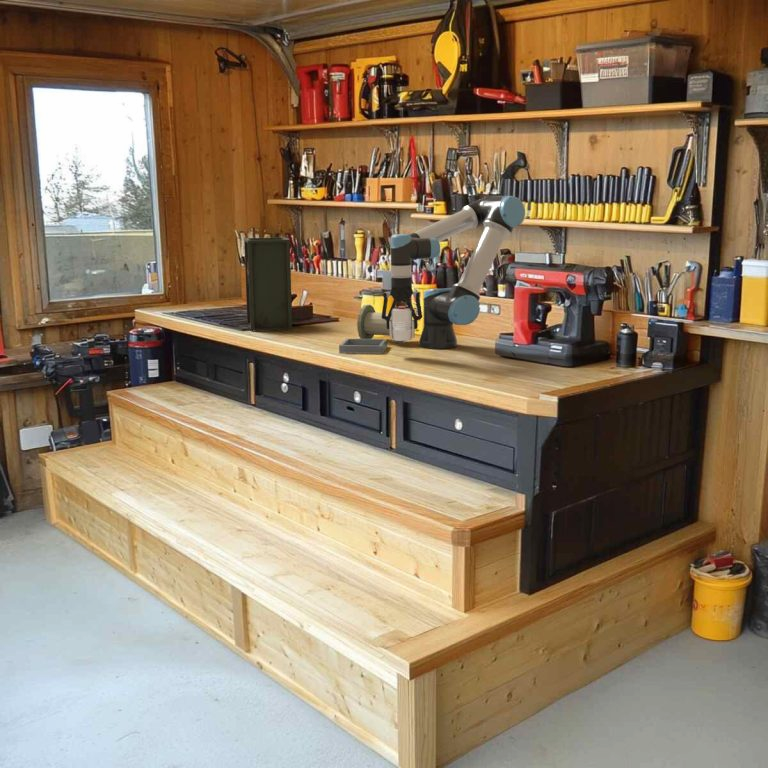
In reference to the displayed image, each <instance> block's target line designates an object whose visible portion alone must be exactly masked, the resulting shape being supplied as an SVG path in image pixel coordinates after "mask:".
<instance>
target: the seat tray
mask: <svg viewBox="0 0 768 768" xmlns="http://www.w3.org/2000/svg"><path fill="white" fill-rule="evenodd" d="M338 347H339V348H338V353H339V354H365V355H368V354H369V355H371V354H372V355H382V354H383V353H384V351H385V350H386V348H387V347H388V341H387V338H372V339H360V338H346V339H344V340H342V342H341V343H340V344H339V345H338Z"/></svg>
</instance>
